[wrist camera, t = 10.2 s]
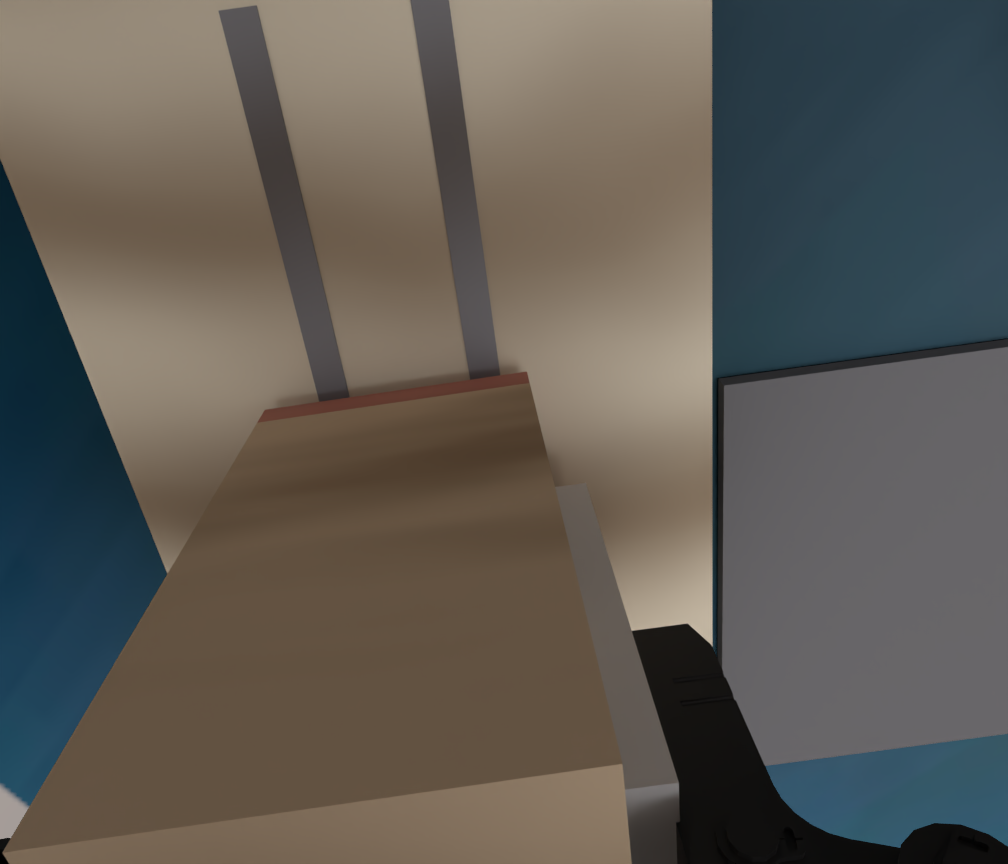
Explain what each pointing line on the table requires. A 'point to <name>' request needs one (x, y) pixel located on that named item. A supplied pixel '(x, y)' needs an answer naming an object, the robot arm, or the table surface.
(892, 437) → the mat
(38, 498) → the table surface
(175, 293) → the board
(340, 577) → the block
